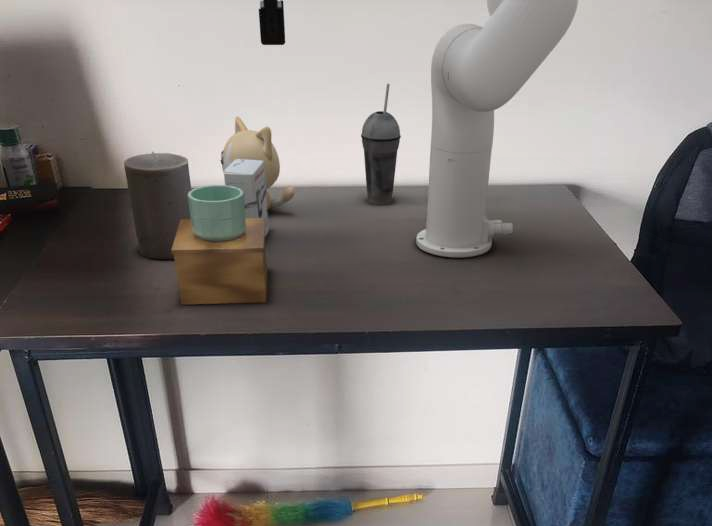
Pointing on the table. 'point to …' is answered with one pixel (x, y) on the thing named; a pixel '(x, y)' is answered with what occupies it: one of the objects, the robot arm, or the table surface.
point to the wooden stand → (221, 266)
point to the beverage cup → (380, 154)
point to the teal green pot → (217, 212)
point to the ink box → (249, 186)
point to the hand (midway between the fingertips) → (273, 39)
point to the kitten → (256, 156)
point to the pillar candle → (158, 200)
